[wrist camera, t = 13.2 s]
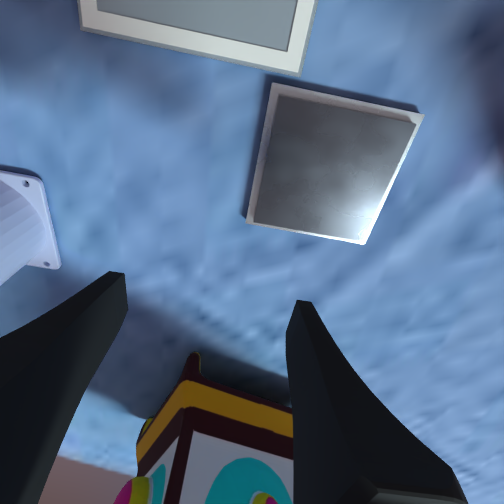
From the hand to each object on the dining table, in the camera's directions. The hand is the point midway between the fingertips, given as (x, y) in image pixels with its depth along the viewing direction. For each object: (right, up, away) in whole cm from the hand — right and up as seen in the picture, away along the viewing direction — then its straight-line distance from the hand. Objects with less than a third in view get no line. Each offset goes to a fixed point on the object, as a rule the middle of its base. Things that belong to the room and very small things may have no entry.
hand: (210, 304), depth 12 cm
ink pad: (+7, +8, +7) cm, 12 cm away
